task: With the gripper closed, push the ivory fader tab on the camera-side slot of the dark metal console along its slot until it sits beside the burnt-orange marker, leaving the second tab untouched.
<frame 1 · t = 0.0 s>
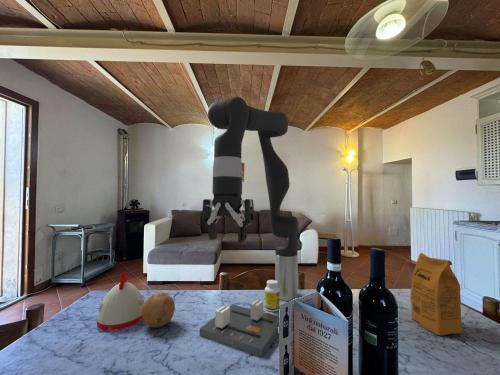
hand: (226, 240, 58), 29 cm above the table, fingers open, 8 cm apart
onion: (158, 326, 73), on the table
fader b: (256, 309, 74), point 5 cm above the table, slide at 2.0 cm
supplement bottle: (272, 309, 85), on the table
fader a: (222, 316, 69), point 5 cm above the table, slide at -5.0 cm
kitchen timer: (121, 319, 77), on the table
console: (244, 329, 71), on the table
coffee package: (434, 326, 73), on the table
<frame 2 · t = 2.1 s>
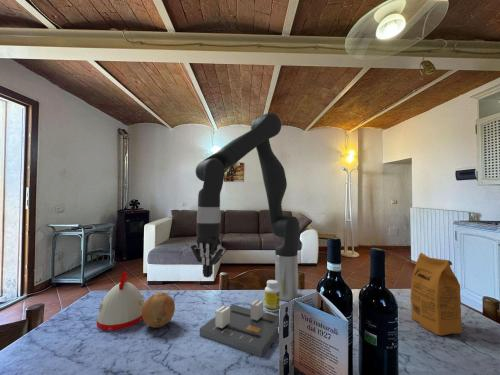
hand: (207, 276, 73), 15 cm above the table, fingers closed
nothing on the table moved.
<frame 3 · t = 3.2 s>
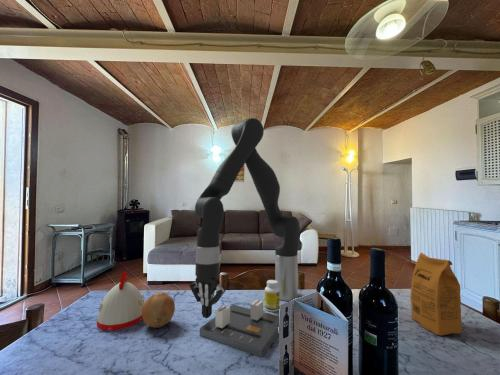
hand: (206, 316, 72), 3 cm above the table, fingers closed
nothing on the table moved.
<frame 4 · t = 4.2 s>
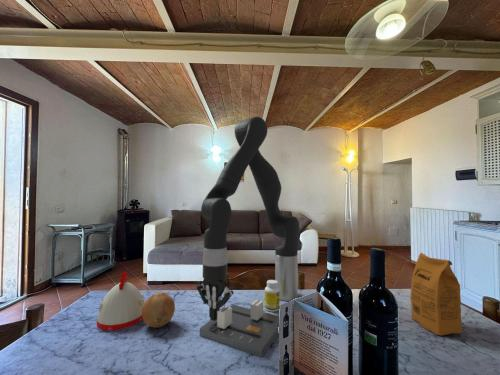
hand: (214, 319, 71), 3 cm above the table, fingers closed
fader a: (224, 316, 69), point 5 cm above the table, slide at -4.3 cm, touching gripper
everything else where it was.
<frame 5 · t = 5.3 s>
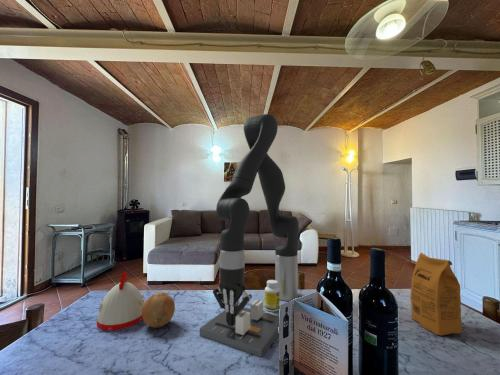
hand: (231, 324, 68), 3 cm above the table, fingers closed
fader a: (242, 322, 66), point 5 cm above the table, slide at 2.0 cm, touching gripper
everything else where it was.
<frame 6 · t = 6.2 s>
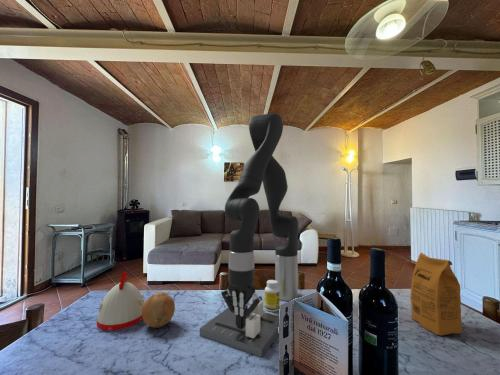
hand: (240, 327, 66), 3 cm above the table, fingers closed
fader a: (253, 325, 65), point 5 cm above the table, slide at 5.3 cm, touching gripper
everything else where it was.
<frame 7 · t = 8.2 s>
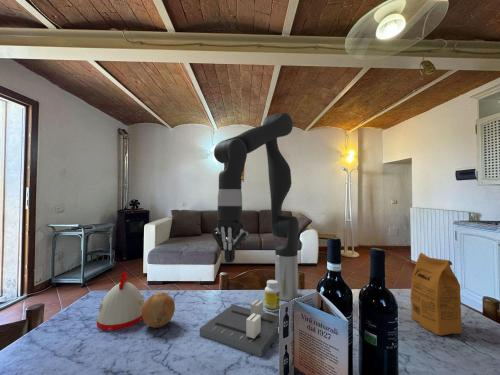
hand: (229, 261, 70), 21 cm above the table, fingers closed
fader a: (253, 325, 65), point 5 cm above the table, slide at 5.4 cm
everything else where it was.
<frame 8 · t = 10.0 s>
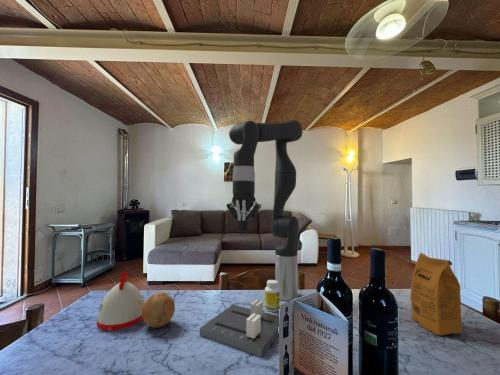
hand: (243, 231, 77), 29 cm above the table, fingers closed
nothing on the table moved.
at the end: fader a slide at 5.4 cm; fader b slide at 2.0 cm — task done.
